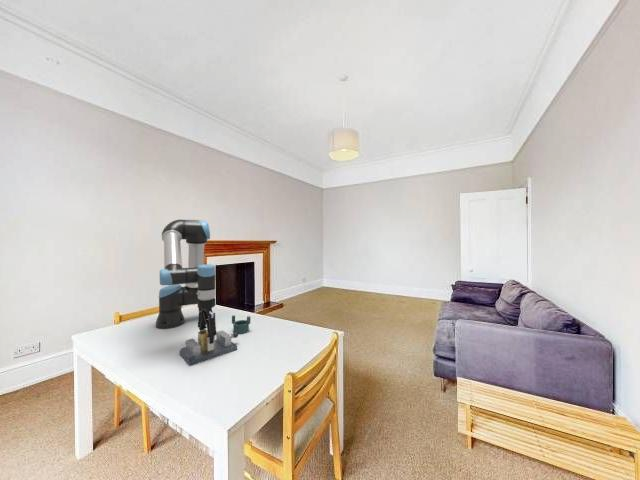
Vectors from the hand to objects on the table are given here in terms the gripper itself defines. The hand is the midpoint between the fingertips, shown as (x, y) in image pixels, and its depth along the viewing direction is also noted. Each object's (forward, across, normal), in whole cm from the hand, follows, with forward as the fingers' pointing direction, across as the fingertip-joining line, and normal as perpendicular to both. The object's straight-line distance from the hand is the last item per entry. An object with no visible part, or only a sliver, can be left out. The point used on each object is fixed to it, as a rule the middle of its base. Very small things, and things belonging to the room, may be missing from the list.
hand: (206, 346), depth 115 cm
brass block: (+1, 0, 0) cm, 1 cm away
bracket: (+3, -13, +24) cm, 27 cm away
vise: (+3, 0, +1) cm, 3 cm away
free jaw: (+1, 0, +11) cm, 11 cm away
